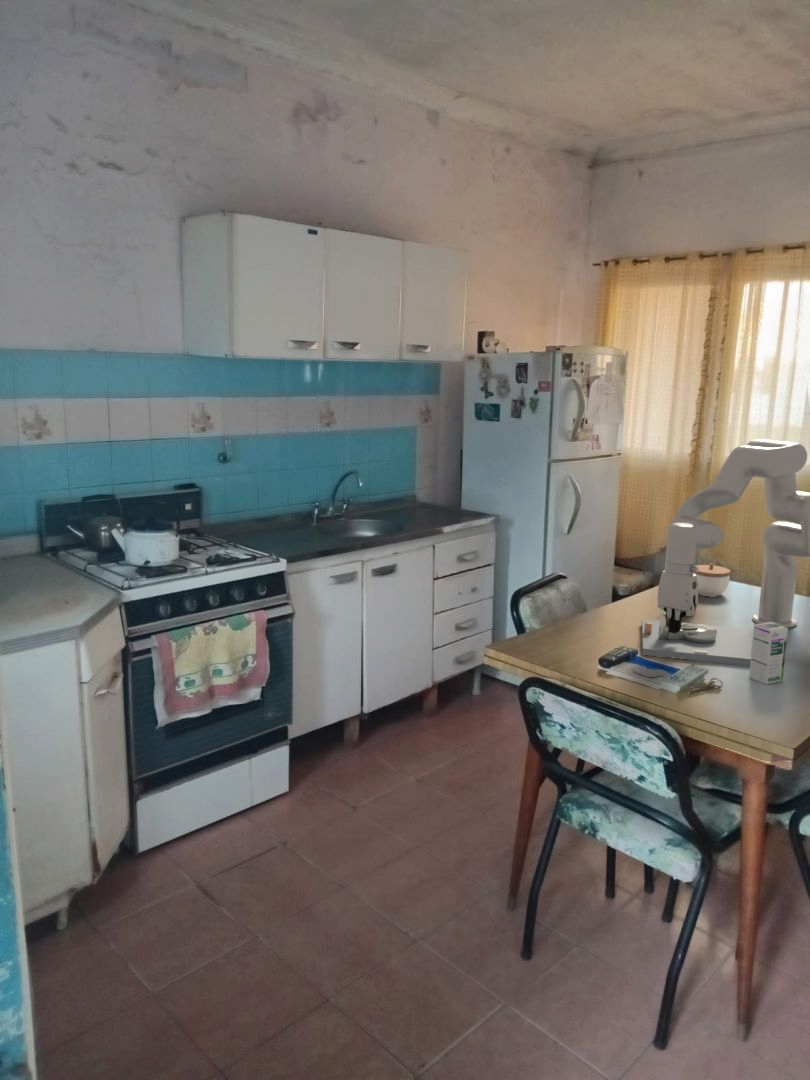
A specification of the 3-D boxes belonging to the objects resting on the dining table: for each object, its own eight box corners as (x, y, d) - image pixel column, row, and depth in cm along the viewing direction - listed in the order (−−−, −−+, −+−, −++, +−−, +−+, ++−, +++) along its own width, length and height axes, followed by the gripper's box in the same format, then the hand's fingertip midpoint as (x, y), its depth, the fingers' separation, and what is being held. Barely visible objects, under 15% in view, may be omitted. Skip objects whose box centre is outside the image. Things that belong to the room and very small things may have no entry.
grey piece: (705, 631, 240) (708, 606, 238) (722, 642, 230) (725, 617, 228) (651, 632, 238) (653, 607, 236) (666, 644, 228) (668, 618, 226)
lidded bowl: (684, 594, 287) (686, 563, 284) (697, 587, 296) (700, 557, 294) (720, 601, 279) (723, 569, 276) (733, 594, 288) (736, 563, 286)
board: (641, 625, 252) (642, 609, 251) (746, 634, 244) (748, 618, 243) (642, 655, 225) (643, 638, 224) (760, 667, 218) (762, 649, 217)
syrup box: (766, 685, 205) (772, 629, 202) (747, 677, 211) (753, 622, 208) (783, 681, 208) (789, 627, 205) (764, 673, 213) (770, 620, 210)
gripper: (711, 571, 222) (706, 635, 226) (662, 561, 233) (657, 623, 236) (697, 575, 217) (692, 641, 221) (647, 565, 228) (643, 628, 232)
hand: (674, 631), depth 229 cm, fingers closed
